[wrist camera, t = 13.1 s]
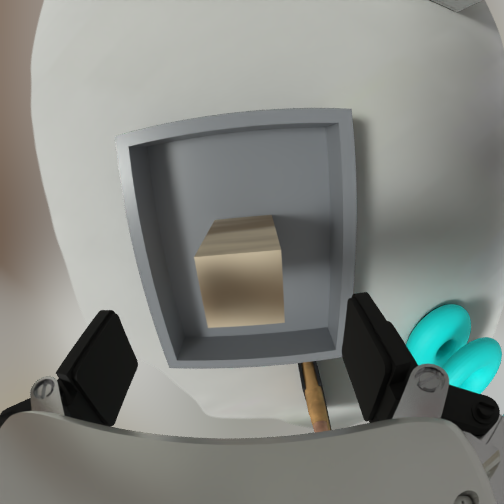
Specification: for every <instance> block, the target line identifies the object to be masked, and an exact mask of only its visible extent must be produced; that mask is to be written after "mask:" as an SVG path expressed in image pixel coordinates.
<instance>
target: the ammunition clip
mask: <svg viewBox="0 0 504 504" xmlns="http://www.w3.org/2000/svg"><path fill="white" fill-rule="evenodd" d="M298 367H299V372H300V378H301V383H302V389H303V392H304V396H305V399H306V402H307V407H308V412H309V415H310V417H311V422H312V425H313V428H314V432H322V431H329V430H331V425H330V420H329V416H328V411H327V406H326V401H325V397H324V392H323V388H322V383H321V379H320V375H319V371H318V368H317V364H316V361H311V362H303V363H298Z"/></svg>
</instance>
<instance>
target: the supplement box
mask: <svg viewBox="0 0 504 504" xmlns="http://www.w3.org/2000/svg"><path fill="white" fill-rule="evenodd" d="M431 1H434V2H436V3H438V4H440V5H443V6H445V7H447V8H449V9H451V10H453V11H455V12H459V11H461V10H463V9H465V8H467V7H469V6H471V5H473V4H476V3H478V2H480V1H482V0H431Z"/></svg>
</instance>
